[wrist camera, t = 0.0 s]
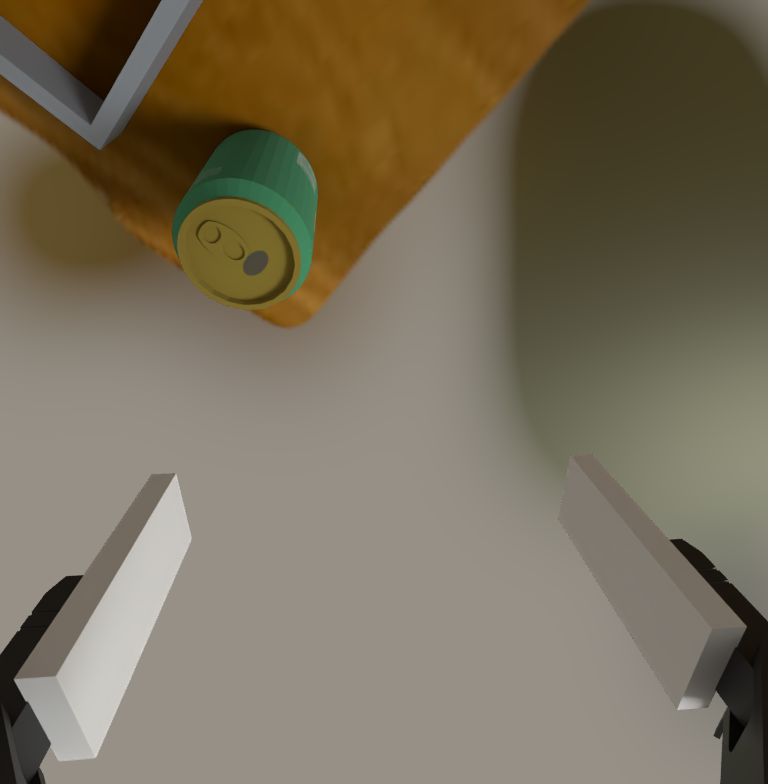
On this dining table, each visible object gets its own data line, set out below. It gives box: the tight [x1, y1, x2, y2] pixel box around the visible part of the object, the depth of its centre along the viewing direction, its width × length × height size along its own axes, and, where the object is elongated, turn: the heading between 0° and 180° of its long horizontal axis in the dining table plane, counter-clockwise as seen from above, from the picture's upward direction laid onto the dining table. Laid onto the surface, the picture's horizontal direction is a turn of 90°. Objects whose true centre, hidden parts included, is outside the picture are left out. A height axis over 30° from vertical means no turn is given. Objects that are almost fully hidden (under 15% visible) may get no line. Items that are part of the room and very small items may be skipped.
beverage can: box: [172, 129, 318, 310], centre depth 30 cm, size 8×8×12 cm
